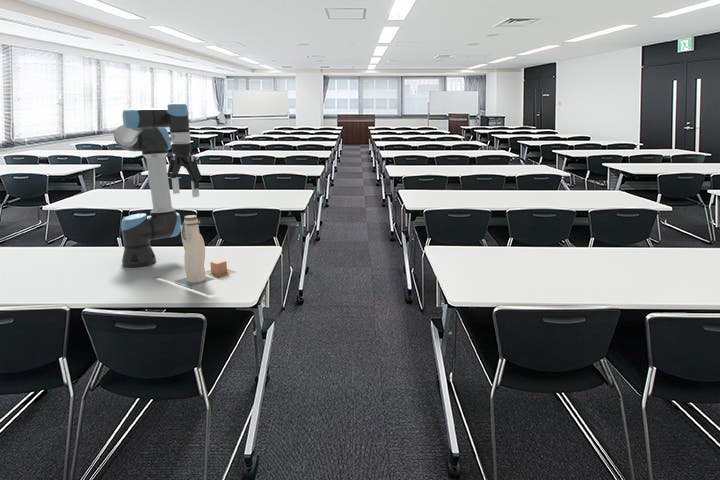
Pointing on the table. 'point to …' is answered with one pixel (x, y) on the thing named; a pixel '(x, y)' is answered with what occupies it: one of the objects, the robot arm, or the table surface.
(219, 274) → the walnut mat
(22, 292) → the table surface
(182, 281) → the slate mat
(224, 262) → the terracotta block
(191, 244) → the water bottle
